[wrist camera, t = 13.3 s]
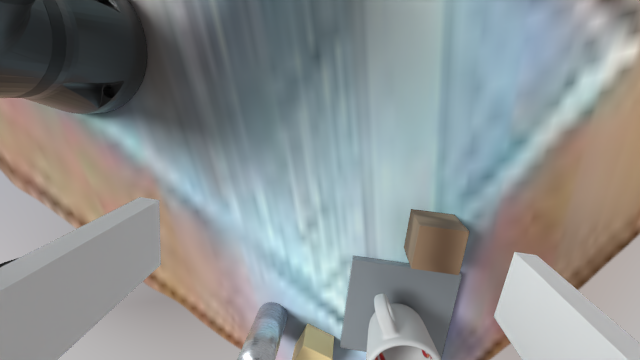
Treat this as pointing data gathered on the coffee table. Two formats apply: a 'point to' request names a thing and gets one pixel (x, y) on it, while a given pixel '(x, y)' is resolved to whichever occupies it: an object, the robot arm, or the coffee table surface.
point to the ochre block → (314, 345)
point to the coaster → (397, 298)
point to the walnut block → (435, 242)
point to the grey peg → (265, 333)
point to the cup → (398, 333)
